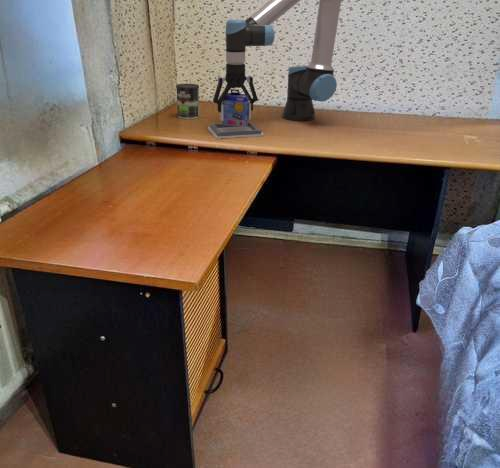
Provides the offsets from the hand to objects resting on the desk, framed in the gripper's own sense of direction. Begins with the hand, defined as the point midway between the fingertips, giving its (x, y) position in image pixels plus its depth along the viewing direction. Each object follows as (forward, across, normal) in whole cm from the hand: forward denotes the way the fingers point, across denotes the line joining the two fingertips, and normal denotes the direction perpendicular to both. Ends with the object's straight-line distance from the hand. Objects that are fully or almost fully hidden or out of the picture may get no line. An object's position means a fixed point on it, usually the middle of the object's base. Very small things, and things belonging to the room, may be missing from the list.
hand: (235, 119), depth 196 cm
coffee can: (+6, +14, -32) cm, 35 cm away
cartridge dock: (+5, 0, 0) cm, 5 cm away
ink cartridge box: (+2, 0, 0) cm, 2 cm away
